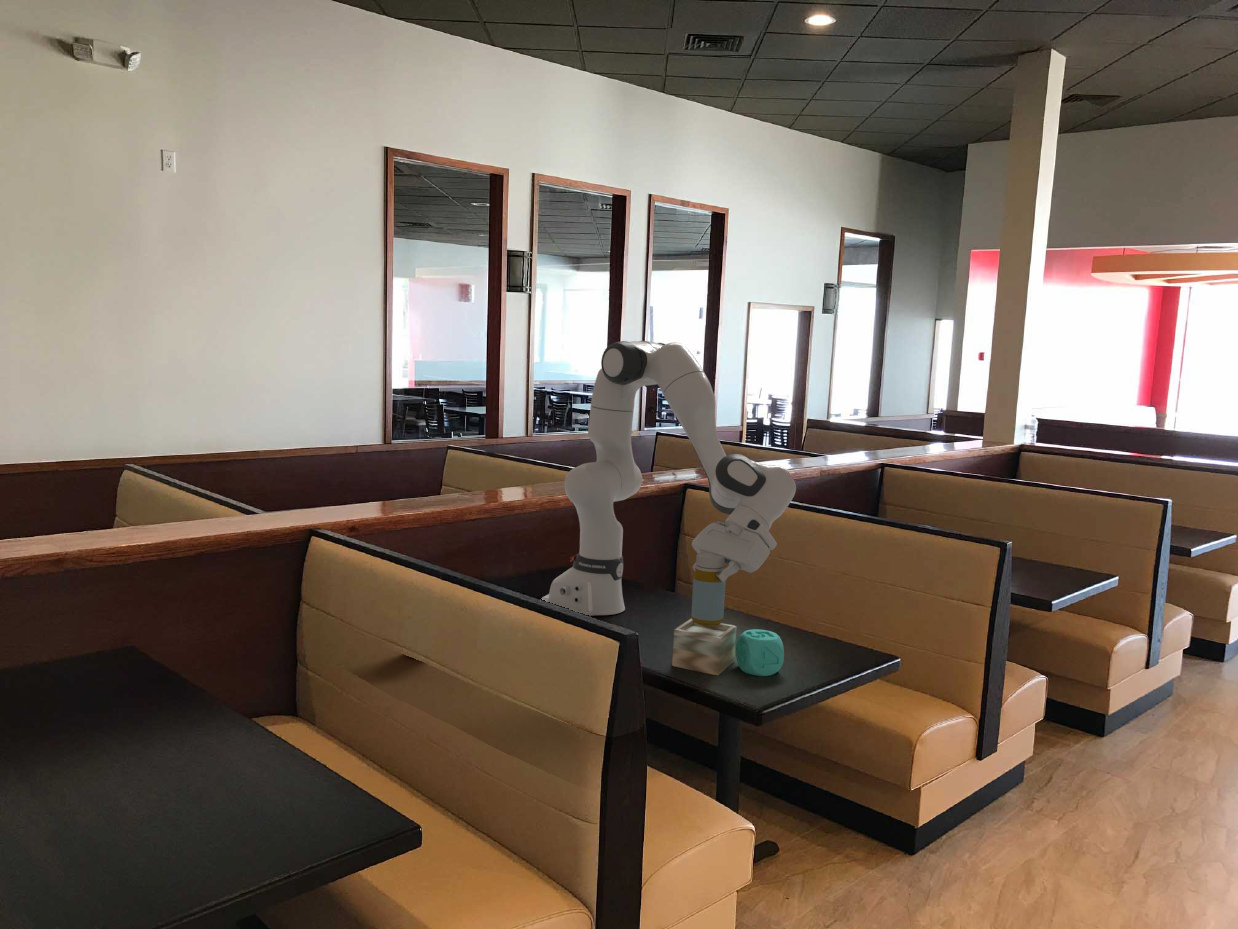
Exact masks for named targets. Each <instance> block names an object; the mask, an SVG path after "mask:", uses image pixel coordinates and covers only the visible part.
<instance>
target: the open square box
mask: <svg viewBox="0 0 1238 929" xmlns="http://www.w3.org/2000/svg"><path fill="white" fill-rule="evenodd" d="M737 627H738V626H737V625H733V624H727V623H723V622H721V623H720V624H719V625H715V626H705V625H700V624H697V623H695V622H694V621H693V620H692V618H691V617H690V618H689V619H688V620H687V621H685V622H684V623H682V624H680V625H679V626H677V627H676V628H674V629H673V630H674V631H673V644H672V646H673V647H672V648H673V649H672V661H671V664H672V665H671V666H673V667H676V668H682V669H685V670H690V671H695V672H699V673H704V674H709V675H713V676H719V675H720V674H722V673H723V672H724V671H725V670H726V669H727V668H729V667H730V666H731V665H732V664H733V663H734V662H735V656H736V643H737V640H736V639H737Z"/></svg>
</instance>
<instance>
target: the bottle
mask: <svg viewBox="0 0 1238 929" xmlns="http://www.w3.org/2000/svg"><path fill="white" fill-rule="evenodd" d="M696 553H697V552H696ZM695 560H696V561H695V563H696V570H694V573H693V577H692V578H693V581H692V596H691V597H692V598H691V615H690V616H691V617H690V619H691V618H692V620H693V621H694V622H695V623H697V624H700V625H705V626H715V625H719V624H720V623H723V621H724V612H725V600H726V599H725V596H726V581H727V579H726V580H725V581H724V582H722V581H720V580H718V579H717V578H716V574H717V573H718V572H719V571H720V570H722V571H723V570H724V569H725V565H726V564H725V558H724V557H722V556H719V555H716V554H713V553H711V552H700V553H697V554H696V558H695Z"/></svg>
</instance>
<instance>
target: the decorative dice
mask: <svg viewBox="0 0 1238 929" xmlns="http://www.w3.org/2000/svg"><path fill="white" fill-rule="evenodd" d="M784 649H785V648H784V643H783V641H782V639H781V637H780V635H778V634H777V633H776V632H773V631H770V630H766V629H757V628H753V629H748V630H745V631H743V632H742V633H741V634H740V635H739V636H738V638H737V640H736V642H735V656H736V661H737V665H738V667H739V669H740V670H741V671H742V672H743V673H746V674H748V675H752V676H757V677H768V676H769V677H770V676H773V675H775V674H776V673H777V672H778V671H780V670H781V668H782V666H783V664H784V660H785V659H784V658H785V650H784Z"/></svg>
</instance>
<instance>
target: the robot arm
mask: <svg viewBox="0 0 1238 929" xmlns="http://www.w3.org/2000/svg"><path fill="white" fill-rule="evenodd" d="M601 356H602V357H601V362H600V364H601V365H600V366H601V368H600V369H599V370H598V372H597V375H596V377H595V380H594V381H595V382H594V384H593V385H594V386H593V390H592V393H591V394H592V396H591V402H590V409H589V410H590V411H589V420H588V431H587V436H588V438H589V440H590V441H591V443H593V445H594V448H595V453H596V460H595V461H593V462H584V463H582V464H580V465H578V466H576V467H574V468H572V469H570V471H568V473H566V476H565V478H564V484H563V485H564V491H565V495H566V496H567V498H568V499H569V501H570V502H572V503H573V505H574V507H575V509H576V512H577V516H578V521H579V530H580V531H579V552H578V553H576V554H574V555H573V556H571V557H570V560H569V562H573V564H572V567H570V568H568V569H567V570H566V571H564V572H563V573H562V574H560V575H559V576H557V577H556V578H554V579H553V580H552V582H551V584H550V589H549V593H548V594H546V595H545V596H542V598H541V599H542V600H545V601H546V602H550V603H553V604H556V605H559V606H562V607H565V608H569V610H573V611H575V612H579V613H583V614H585V615H589V616H590V617H591V616H609V615H616V614H620V613H622V612H624V611H625V610H626V607H625V602H624V597H623V586H622V579H623V578H622V577H623V573H624V572H623V571H624V555H622V554H623V553H622V552H623V536H624V528H623V525H622V524H621V523H620V521H618V519H617V517H616V514H615V510H614V503H615V502H620V501H624V500H626V499H628V498H630V497H633V496H634V495H635V494H637V493H638V491H640V489H641V487H642V485H643V484H642V483H643V475H642V472H641V469H640V468H639V466H638V465H637V464H636V461H635V460H634V458H635V457H634V453H633V447H632V430H633V421H634V409H635V398H636V394H637V392H638V390H640V388H642V387H645V388H646V389H649V388H653V387H659V389H660V391H661V393H662V395H663V397H664V398H665V401H666V403H667V405H668V406H669V407H670V409H671V411H672V413H673V414H674V415H675V417H676V419H677V420H678V422H679V424H680V425H681V427H682V429H683V431H684V432H685V434H686V436H687V437H688V439H689V441H690V443H691V446H692V447H693V449H694V452H695V454H696V457H697V458H698V460H699V462H700V465H701V467H702V468H703V471H704V474H705V475H706V478H707V481H708V495H709V500H710V503H711V504H712V506H713V507H714V508H715V509H716V510H717V511H719V512H721V513H723V514H726V515H728V516H727V518H726V519H725V520H724V521H723V520H718V521H715V522H711V523H710V524H708V525H707V526H705V528H703V529H702V530H701V531H700V533H699V532H698V533H697V535H696V536H695V537H694V538H693V540H692V542H691V546H692V548H693V549H694V551H695V552H696V553H700V552H711V553H713V554H716V555H719V556H722V557H724V558H725V565H727V567H724V570H723V571H722V570H720V571H719V572H718V573H717V574H716V578H717V579H718V580H720V581H722V582H724V581H725V580H726V581H727V579H728V577H731V576H733V575H734V574H737V573H738V572H739V570H741V571H745V572H747V573H754V572H756V571H757V570H759V569H760V567H761V566H762V565H763V564H764V563H765V561H766V560H767V558H768V557H769V555H770V553H771V551H772V550H775V548H776V547H777V545H778V543H777V541H776V540H775V538H774V536H773V535H772V533H771V532H770V529H771V527H772V525H773V523H774V522H775V520H777V519H778V518H780V517H781V516H782V515H783V513H784V512H785V511H786V509H788V507H789V505H790V504H791V502H792V500H793V498H794V497H795V494H796V492H797V484H796V482H795V480H794V478H793V476H792V474H791V473H790V472H789V471H788V470H787V469H786V468H784V467H782V466H781V465H778V464H772V465H771V464H765V463H760V462H756V461H755V460H752V459H750V458H749V457H747V456H745V455H743V454H739V453H733V454H732V453H731V454H728V455H727V454H726V451H725V450H724V448H723V446H722V444H721V441H720V439H719V436H718V431H717V429H716V397H715V394H714V391H713V390H714V389H713V387H712V385H711V382H710V380H709V378H708V377H707V375H706V373H705V370H704V369H703V367H702V366H701V365H700V363H699V361H698V360H697V359H696V357H695V356H694V355H693V354H692V353H691V351H690V350H689V349H688V348H687V347H686V346H685V345H684V344H682V343H680V342H676V341H675V342H669V343H662V342H653V341H647V340H639V341H637V340H635V341H627V340H623V341H622V340H621V341H616V342H613V343H611V344H609V345H608V346H607V347H606V348H605V349H604V351H603V352H602V355H601ZM692 569H693V571H695V570H696V562H694V564H693V565H692ZM589 616H588V617H589Z"/></svg>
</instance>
